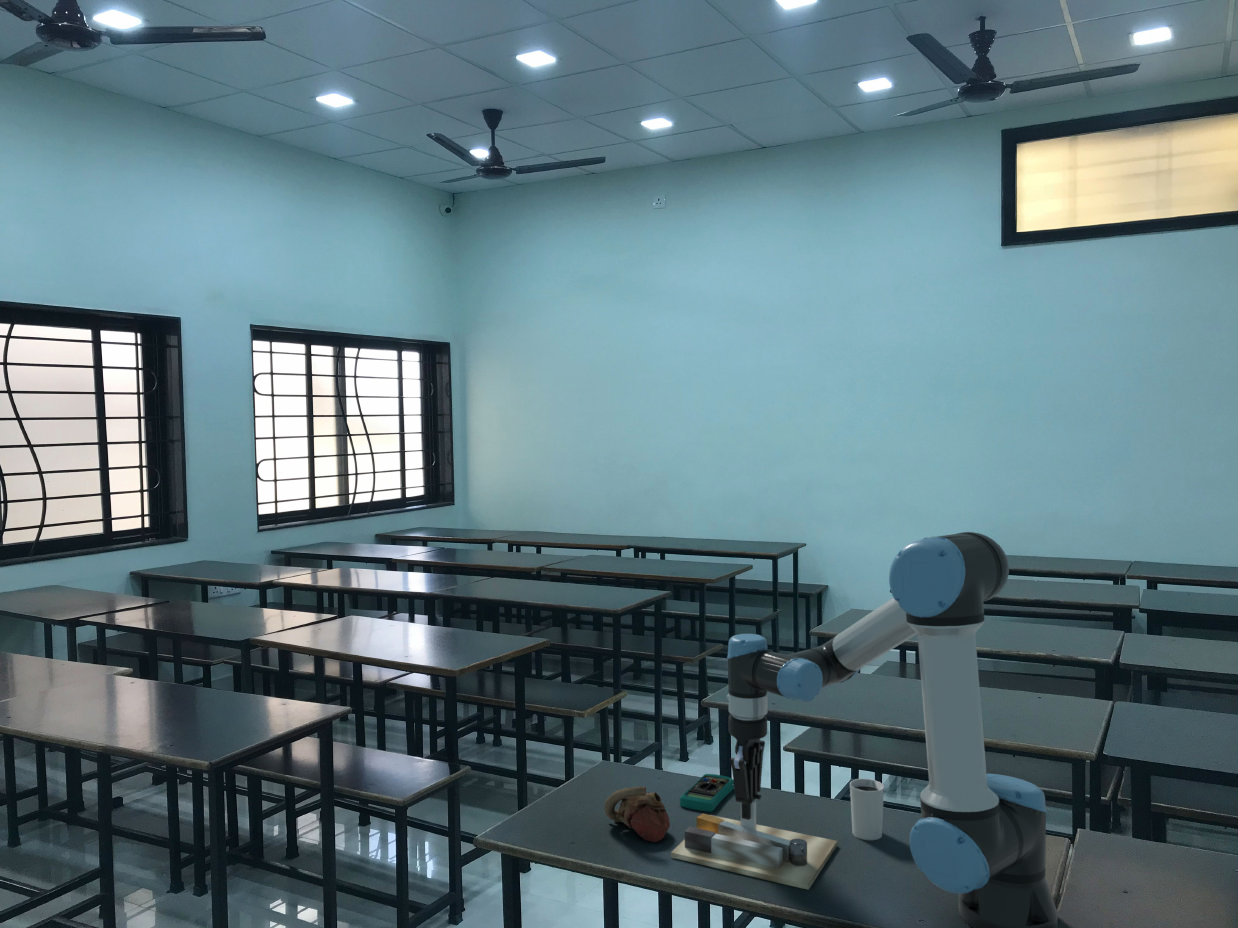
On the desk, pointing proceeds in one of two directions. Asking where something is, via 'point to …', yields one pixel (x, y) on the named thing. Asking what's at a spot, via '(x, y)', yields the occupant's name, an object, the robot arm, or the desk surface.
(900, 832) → the desk surface
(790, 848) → the bar
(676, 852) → the board
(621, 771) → the desk surface
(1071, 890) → the desk surface
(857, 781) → the white coffee cup
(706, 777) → the digital multimeter
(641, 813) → the anatomical model
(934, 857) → the robot arm
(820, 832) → the desk surface
